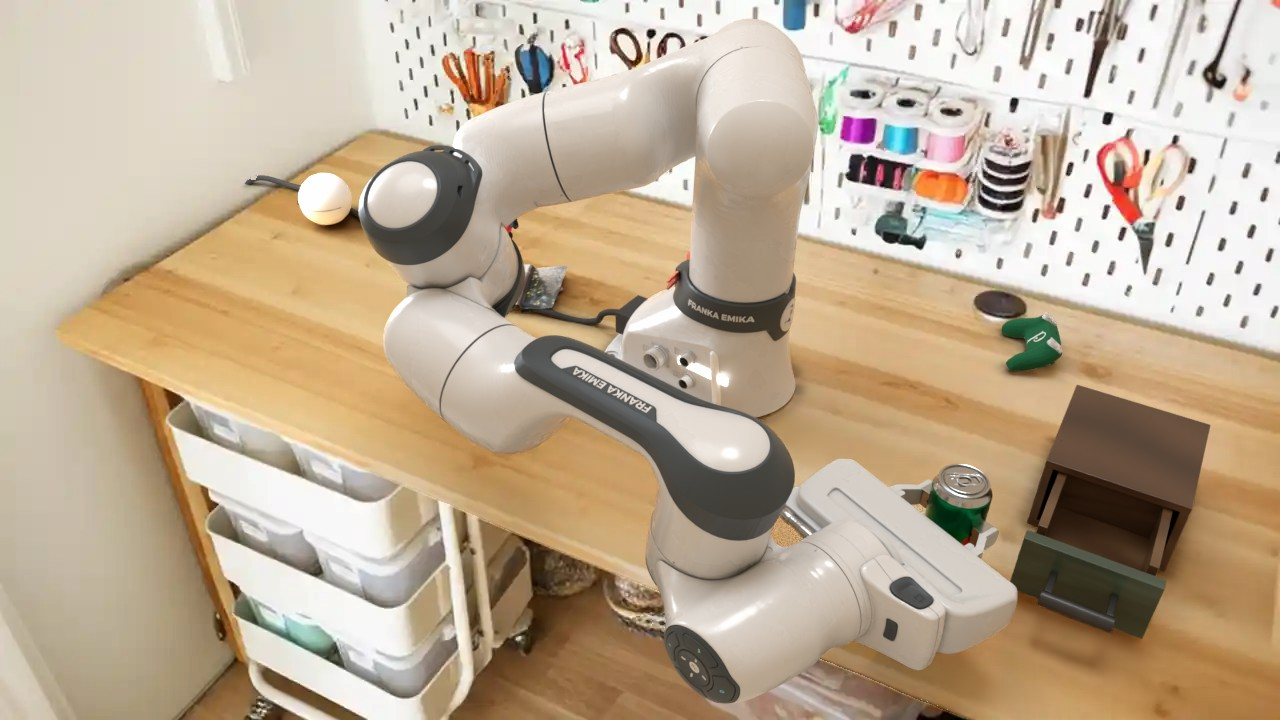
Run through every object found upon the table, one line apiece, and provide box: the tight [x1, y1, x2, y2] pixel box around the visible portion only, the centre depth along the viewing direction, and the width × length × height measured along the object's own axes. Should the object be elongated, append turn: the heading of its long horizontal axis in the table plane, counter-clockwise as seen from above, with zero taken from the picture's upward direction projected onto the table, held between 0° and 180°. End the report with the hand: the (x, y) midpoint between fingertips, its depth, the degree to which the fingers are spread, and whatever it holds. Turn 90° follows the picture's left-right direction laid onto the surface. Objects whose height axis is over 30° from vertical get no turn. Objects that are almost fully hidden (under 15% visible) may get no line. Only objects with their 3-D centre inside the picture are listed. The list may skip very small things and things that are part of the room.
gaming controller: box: [1000, 311, 1063, 372], centre depth 124 cm, size 9×4×6 cm
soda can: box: [924, 463, 994, 547], centre depth 93 cm, size 5×5×12 cm
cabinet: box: [1026, 384, 1211, 573], centre depth 102 cm, size 14×13×8 cm
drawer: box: [1009, 471, 1173, 640], centre depth 93 cm, size 16×11×6 cm
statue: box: [503, 218, 569, 314], centre depth 131 cm, size 11×9×15 cm
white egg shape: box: [296, 172, 353, 226], centre depth 146 cm, size 10×7×7 cm
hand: (963, 509), depth 92 cm, fingers closed on soda can, 5 cm apart
